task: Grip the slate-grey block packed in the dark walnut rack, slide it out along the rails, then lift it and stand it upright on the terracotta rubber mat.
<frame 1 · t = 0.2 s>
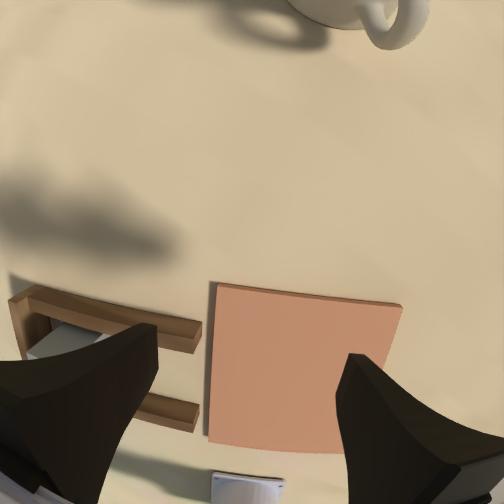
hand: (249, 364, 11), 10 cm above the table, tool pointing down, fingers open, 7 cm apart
mug: (345, 5, 15), on the table
mat: (294, 386, 22), on the table
blank block: (97, 347, 23), resting in rack
rack: (116, 354, 23), on the table
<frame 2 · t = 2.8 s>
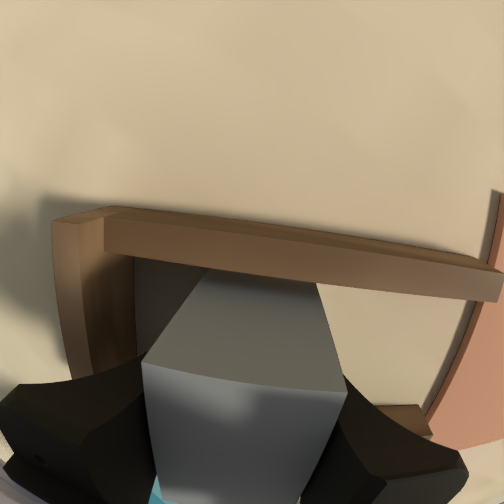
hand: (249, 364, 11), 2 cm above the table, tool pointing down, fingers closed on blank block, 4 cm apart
blank block: (253, 335, 13), resting in rack, touching gripper
rack: (300, 341, 13), on the table
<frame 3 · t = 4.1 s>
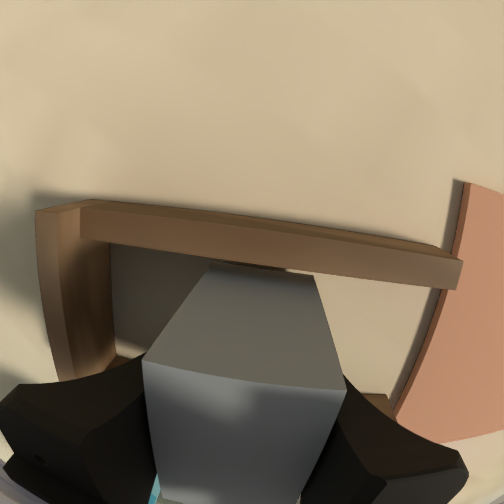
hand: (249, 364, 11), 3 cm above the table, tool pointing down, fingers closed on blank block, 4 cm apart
mat: (503, 341, 13), on the table
blank block: (253, 334, 13), point 1 cm above the table, touching gripper
rack: (260, 324, 14), on the table
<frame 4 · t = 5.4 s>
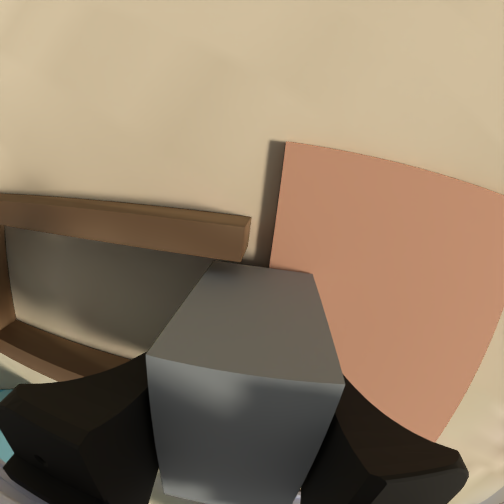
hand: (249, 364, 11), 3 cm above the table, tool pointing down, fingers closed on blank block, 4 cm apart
mat: (391, 338, 13), on the table
blank block: (254, 332, 13), point 1 cm above the table, touching gripper
rack: (95, 293, 14), on the table
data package: (23, 407, 19), on the table
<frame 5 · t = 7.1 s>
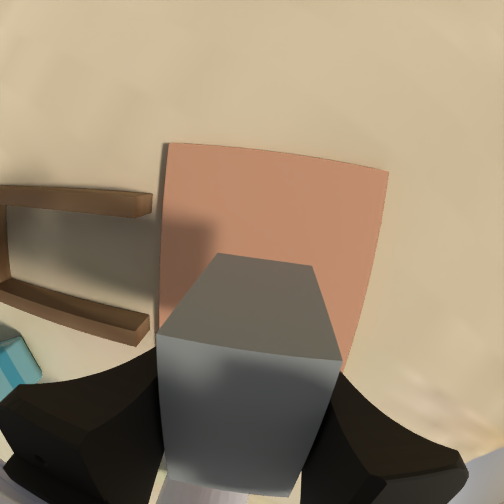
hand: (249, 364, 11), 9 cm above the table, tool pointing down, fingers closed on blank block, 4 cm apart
mat: (262, 284, 19), on the table
blank block: (255, 322, 14), point 6 cm above the table, touching gripper
rack: (63, 251, 20), on the table
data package: (12, 358, 24), on the table
when the fingers open (4 cm above the table, at t = 8.3 s): blank block stays where it is, resting on mat.
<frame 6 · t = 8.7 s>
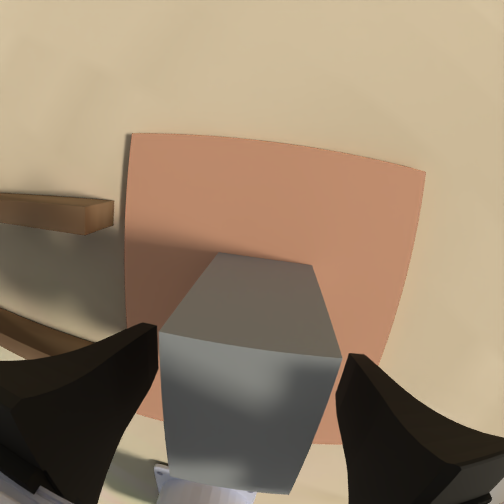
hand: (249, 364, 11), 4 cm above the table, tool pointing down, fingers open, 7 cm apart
mat: (256, 318, 14), on the table
blank block: (256, 321, 14), point 1 cm above the table, touching mat
rack: (21, 269, 15), on the table
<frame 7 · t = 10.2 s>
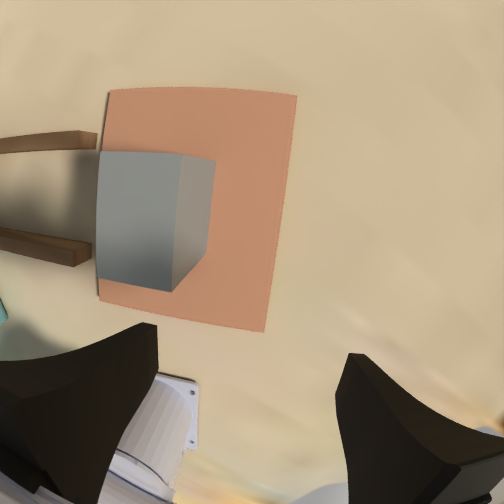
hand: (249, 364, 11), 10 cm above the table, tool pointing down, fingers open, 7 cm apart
mat: (183, 205, 20), on the table
blank block: (181, 204, 19), point 1 cm above the table, touching mat
rack: (28, 192, 21), on the table
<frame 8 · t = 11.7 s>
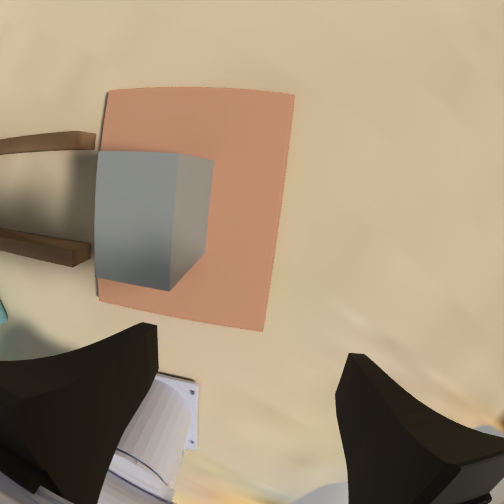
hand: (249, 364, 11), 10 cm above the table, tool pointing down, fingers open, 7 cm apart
mat: (182, 205, 20), on the table
blank block: (179, 204, 19), point 1 cm above the table, touching mat
rack: (28, 193, 21), on the table
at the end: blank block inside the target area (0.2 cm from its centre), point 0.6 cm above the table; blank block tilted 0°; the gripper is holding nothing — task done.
